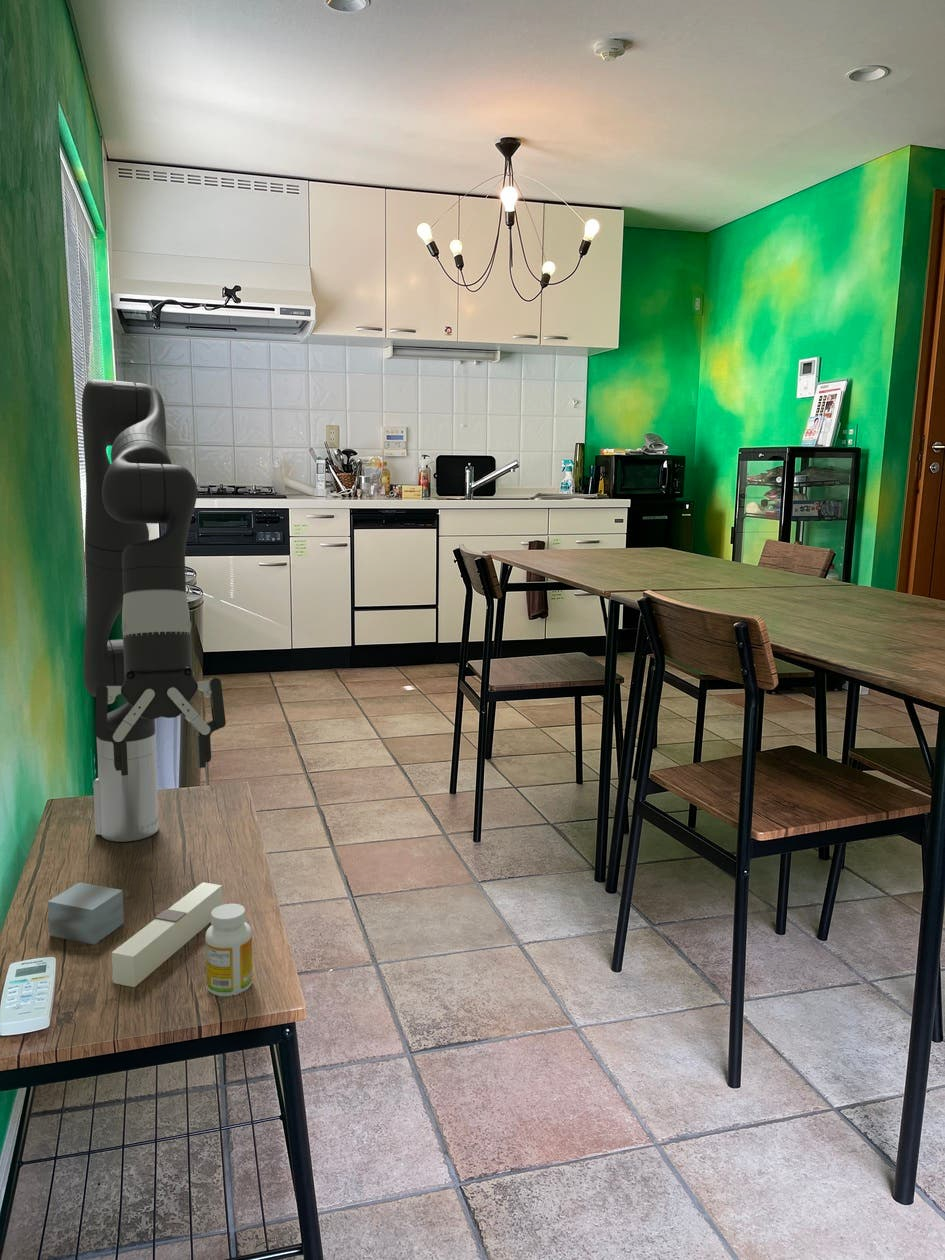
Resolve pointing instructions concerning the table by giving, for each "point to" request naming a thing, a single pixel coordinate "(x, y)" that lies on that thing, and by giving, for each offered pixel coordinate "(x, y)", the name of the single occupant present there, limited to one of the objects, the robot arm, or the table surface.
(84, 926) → the block
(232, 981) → the supplement bottle
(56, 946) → the table surface
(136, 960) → the cream rectangular bar
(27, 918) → the table surface
